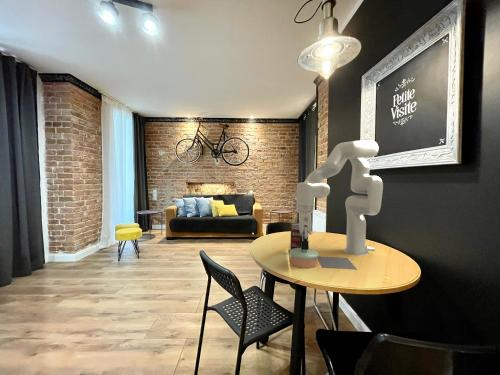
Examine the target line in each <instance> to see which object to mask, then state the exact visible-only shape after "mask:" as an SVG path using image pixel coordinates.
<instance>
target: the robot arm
mask: <svg viewBox="0 0 500 375" xmlns="http://www.w3.org/2000/svg"><path fill="white" fill-rule="evenodd" d="M378 152H379V145H378V143H377V142H376V141H375V140H352V141H346V142H340V143H338V144H337V145H335V146H334V148H333V149H332V151H331V152H330V154H329V156H327V158H326V160H325V161H324V163H322V164H321V165H320V166H318V167H317V168H316V169H314V170H313V171H311V172H310V173H309V175H307V177H306V178H305V180H304V182H298V183H297V185H296V213H298V224H299V231H300V233H301V234H300V246H301V249H302V250H308V249H310V248H309V247H310V246H309V244H310V243H309V241H310V240H309V235H310V236H312V233H313V232H312V226H313V225H312V214H313V213H314V199H315V198H317V199H324V198H326V197H328V196H329V195H330V193H331V187H330V185H329V184H328V183H326V182H323V181H324V180H325V179H329V178H330V177H333V176H336V175H338V174H339V173H340V172H341V170H342V169H343V167H344V165H345V164H346V163H347V160H349V162H350V163H351V166H352V170H351V178H350V191H352V192H353V193H357V194H366V195H367V196H366V195H365V196H364V195H356V194H355V195H350V196H348V197H347V198H346V199H345V203H344V204H345V211H346V244H345V246H346V247H345V248H343V250H342V251H343V252H344V253H346V254H349V255H353V256H368V255H369V252H375V251H376V248H375V247H371V246H367V245H366V239H367V238H366V237H367V236H366V234H367V221H366V218H365V216H364V215H368V216H376V215H378V214H379V213H380V211H381V208H382V200H383V199H382V198H383V190H384V184H383V180H382V178H381V177H379V175H378V176H377V175H370V170H371V169H370V168H371V167H370V164H369V162H368V161H367V158H368V159H369V158H374V157H376V155H377V154H378Z"/></svg>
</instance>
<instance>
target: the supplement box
mask: <svg viewBox="0 0 500 375" xmlns="http://www.w3.org/2000/svg"><path fill="white" fill-rule="evenodd" d="M300 234H301V233H300V231H299V223H290V244H289V245H290V248H289V249H290V250H291V249H294V248H301V246H300ZM290 250H289V251H290Z"/></svg>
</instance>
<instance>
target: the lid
mask: <svg viewBox="0 0 500 375" xmlns="http://www.w3.org/2000/svg"><path fill="white" fill-rule="evenodd" d="M289 255H290V257H291V256H293V257H295V258H299V259H315V258H318V256H319V252H318V251H317V250H315V249H313V248H309V249H308V250H302V249H301V248H294V249H291V250H289ZM319 257H320V256H319Z"/></svg>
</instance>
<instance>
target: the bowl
mask: <svg viewBox="0 0 500 375" xmlns="http://www.w3.org/2000/svg"><path fill="white" fill-rule="evenodd" d="M318 263H319V260H318V258H315V259H299V258H295V257H293V256H291V255H290V264H291V265H292V266H295V267H298V268H301V269H313V268H315V267H317V266H318Z"/></svg>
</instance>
